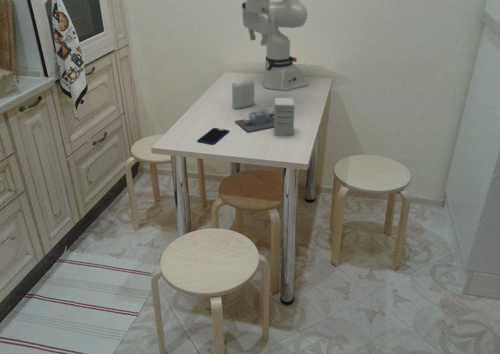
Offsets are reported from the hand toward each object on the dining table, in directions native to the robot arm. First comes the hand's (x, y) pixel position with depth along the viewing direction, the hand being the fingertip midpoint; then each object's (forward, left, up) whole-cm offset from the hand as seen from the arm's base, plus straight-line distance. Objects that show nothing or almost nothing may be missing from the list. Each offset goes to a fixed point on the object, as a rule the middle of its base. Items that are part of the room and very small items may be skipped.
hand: (258, 42), depth 190 cm
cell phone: (+27, +16, -30) cm, 43 cm away
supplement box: (+1, +24, -29) cm, 38 cm away
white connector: (-4, +4, -29) cm, 30 cm away
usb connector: (+6, +13, -28) cm, 32 cm away
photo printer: (+3, -8, -29) cm, 31 cm away
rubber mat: (+6, +13, -29) cm, 32 cm away
